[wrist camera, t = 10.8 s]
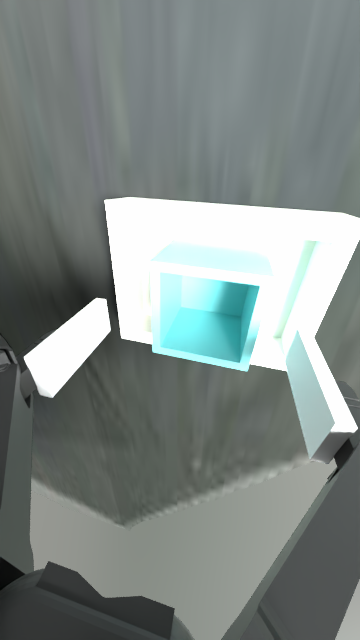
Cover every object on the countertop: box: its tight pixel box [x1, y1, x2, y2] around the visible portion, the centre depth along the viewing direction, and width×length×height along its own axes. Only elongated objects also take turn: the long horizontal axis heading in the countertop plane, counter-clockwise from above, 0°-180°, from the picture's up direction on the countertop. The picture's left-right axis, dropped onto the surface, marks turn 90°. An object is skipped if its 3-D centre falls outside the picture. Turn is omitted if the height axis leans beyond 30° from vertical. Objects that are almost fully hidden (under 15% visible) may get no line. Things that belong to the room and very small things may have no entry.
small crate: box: [150, 237, 275, 371], centre depth 20 cm, size 8×8×8 cm
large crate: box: [105, 197, 360, 371], centre depth 22 cm, size 19×14×4 cm
